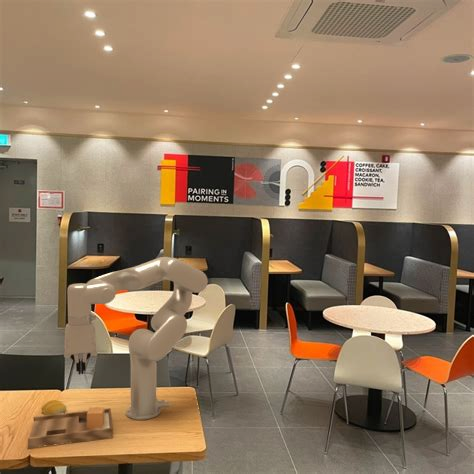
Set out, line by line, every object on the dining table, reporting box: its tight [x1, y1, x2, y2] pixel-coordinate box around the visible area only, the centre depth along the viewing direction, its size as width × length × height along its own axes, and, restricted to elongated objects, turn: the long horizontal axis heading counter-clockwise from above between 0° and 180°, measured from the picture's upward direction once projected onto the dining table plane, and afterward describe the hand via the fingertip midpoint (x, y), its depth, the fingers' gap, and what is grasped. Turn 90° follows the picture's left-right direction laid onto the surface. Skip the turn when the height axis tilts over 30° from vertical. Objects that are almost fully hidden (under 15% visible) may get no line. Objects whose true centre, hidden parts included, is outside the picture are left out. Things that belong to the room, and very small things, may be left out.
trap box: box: [27, 407, 114, 450], centre depth 160 cm, size 26×17×3 cm, turn 108°
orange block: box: [87, 406, 105, 428], centre depth 161 cm, size 5×5×5 cm
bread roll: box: [41, 399, 67, 416], centre depth 176 cm, size 8×9×4 cm
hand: (81, 372), depth 160 cm, fingers closed
